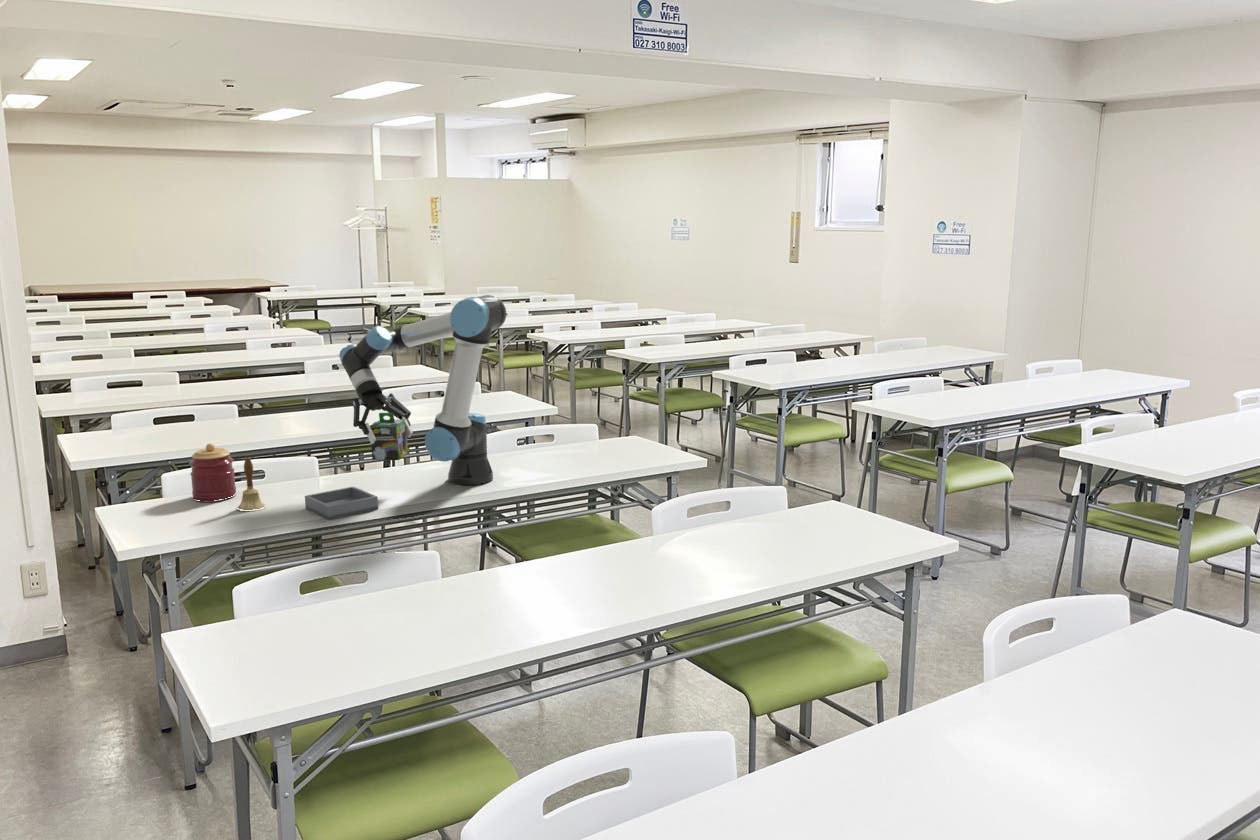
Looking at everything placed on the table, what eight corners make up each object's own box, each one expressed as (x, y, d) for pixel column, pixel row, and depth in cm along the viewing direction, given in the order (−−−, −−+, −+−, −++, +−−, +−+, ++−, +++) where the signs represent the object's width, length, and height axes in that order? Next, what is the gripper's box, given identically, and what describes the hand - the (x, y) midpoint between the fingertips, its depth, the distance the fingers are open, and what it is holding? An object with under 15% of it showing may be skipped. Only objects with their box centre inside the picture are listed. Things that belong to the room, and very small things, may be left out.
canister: (224, 503, 304) (220, 448, 300) (184, 502, 304) (179, 448, 301) (243, 492, 316) (239, 439, 313) (205, 491, 317) (200, 438, 314)
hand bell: (271, 506, 301) (267, 456, 297) (251, 513, 293) (246, 462, 290) (251, 503, 304) (247, 453, 301) (231, 509, 297) (226, 459, 293)
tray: (353, 498, 308) (353, 486, 307) (378, 509, 297) (377, 496, 296) (305, 508, 298) (304, 495, 297) (328, 519, 286) (327, 506, 285)
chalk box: (408, 454, 316) (405, 409, 313) (399, 460, 307) (396, 414, 304) (381, 453, 317) (378, 409, 314) (371, 460, 308) (367, 414, 305)
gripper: (396, 388, 327) (422, 439, 319) (328, 398, 311) (353, 451, 303) (403, 374, 322) (429, 425, 314) (334, 383, 306) (360, 437, 298)
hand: (392, 438), depth 309 cm, fingers closed on chalk box, 12 cm apart
